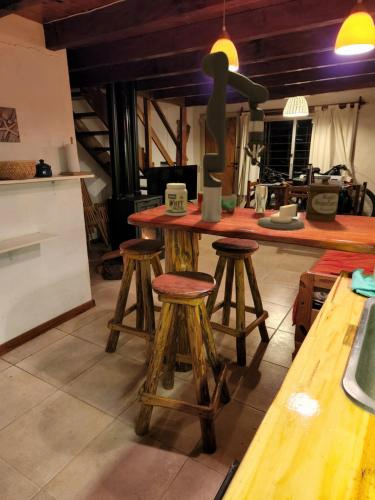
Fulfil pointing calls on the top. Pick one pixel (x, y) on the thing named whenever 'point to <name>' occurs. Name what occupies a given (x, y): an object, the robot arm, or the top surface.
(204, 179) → the robot arm
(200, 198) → the canned food
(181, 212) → the supplement tub
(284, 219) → the dial lever
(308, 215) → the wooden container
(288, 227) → the dial base
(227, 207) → the food container
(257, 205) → the beer glass
